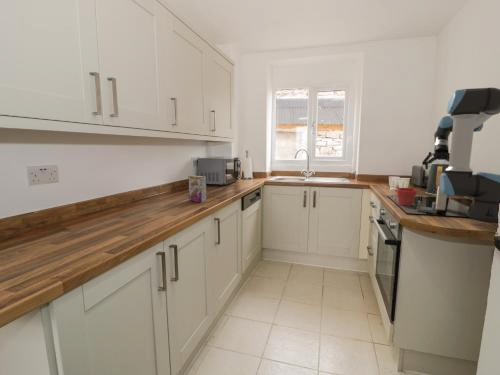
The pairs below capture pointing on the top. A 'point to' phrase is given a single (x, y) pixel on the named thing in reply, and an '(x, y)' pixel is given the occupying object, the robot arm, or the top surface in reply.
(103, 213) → the top surface
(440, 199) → the white tall block
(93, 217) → the top surface
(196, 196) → the candy bar box
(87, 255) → the top surface
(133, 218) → the top surface
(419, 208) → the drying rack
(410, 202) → the flower pot
